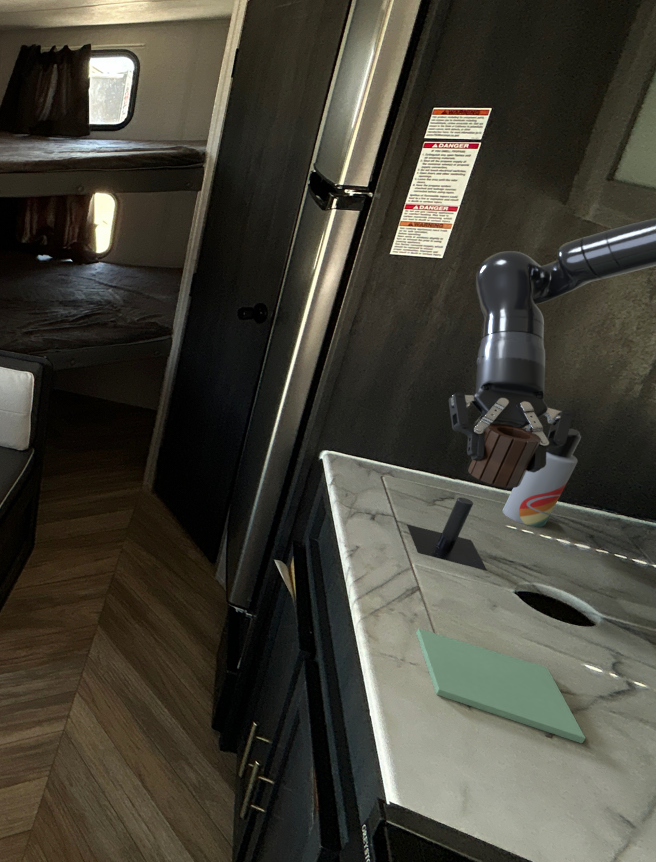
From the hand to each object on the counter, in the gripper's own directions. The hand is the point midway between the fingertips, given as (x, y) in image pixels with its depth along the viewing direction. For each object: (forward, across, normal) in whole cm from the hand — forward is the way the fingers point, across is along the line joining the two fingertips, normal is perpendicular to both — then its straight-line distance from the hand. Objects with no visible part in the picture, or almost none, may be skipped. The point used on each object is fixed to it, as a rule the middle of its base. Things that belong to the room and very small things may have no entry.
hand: (505, 464), depth 95 cm
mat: (+32, -1, -1) cm, 32 cm away
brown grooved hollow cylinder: (+1, 0, +4) cm, 4 cm away
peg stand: (+10, 0, +21) cm, 23 cm away
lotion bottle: (-2, +15, +34) cm, 37 cm away
